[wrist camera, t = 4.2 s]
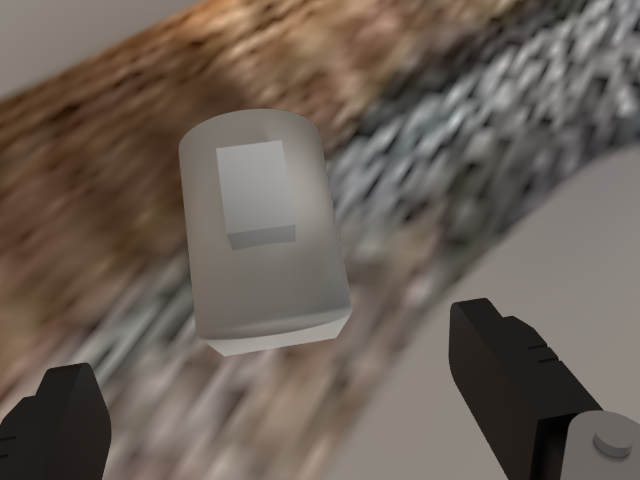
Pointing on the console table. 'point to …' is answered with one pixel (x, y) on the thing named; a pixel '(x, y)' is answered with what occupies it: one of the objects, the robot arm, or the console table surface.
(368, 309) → the console table surface
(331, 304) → the cylinder
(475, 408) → the robot arm
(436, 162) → the console table surface
